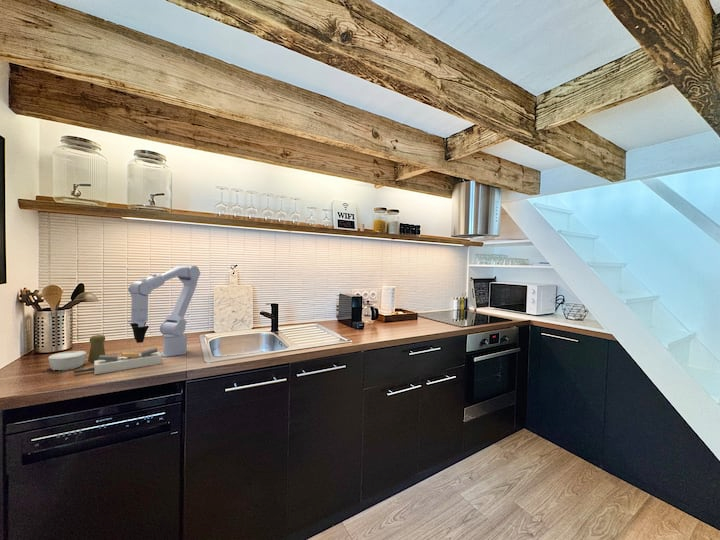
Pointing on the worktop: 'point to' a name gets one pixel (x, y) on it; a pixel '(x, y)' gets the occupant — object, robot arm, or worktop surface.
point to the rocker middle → (129, 354)
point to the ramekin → (67, 360)
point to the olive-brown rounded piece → (96, 347)
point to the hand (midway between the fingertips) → (138, 340)
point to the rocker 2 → (149, 352)
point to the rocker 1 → (108, 357)
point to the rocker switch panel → (123, 363)
